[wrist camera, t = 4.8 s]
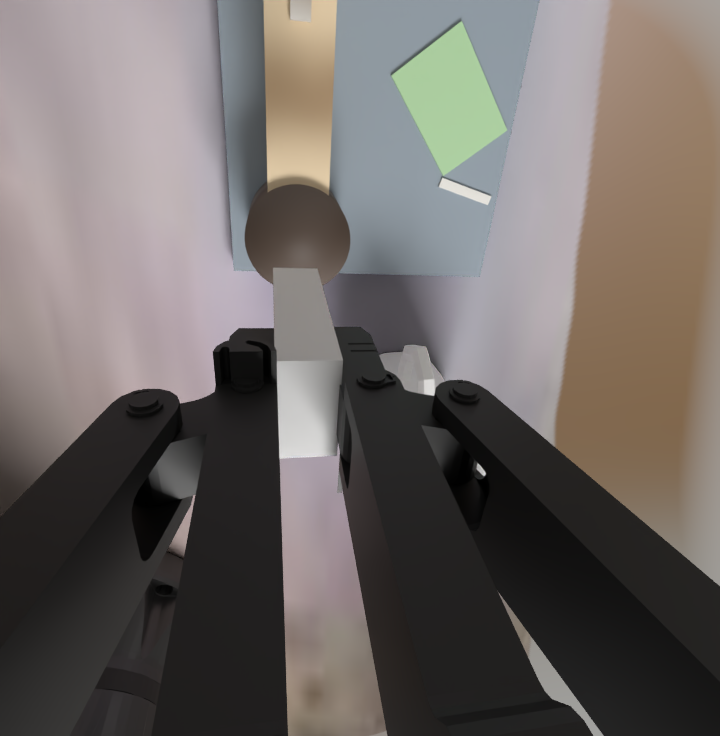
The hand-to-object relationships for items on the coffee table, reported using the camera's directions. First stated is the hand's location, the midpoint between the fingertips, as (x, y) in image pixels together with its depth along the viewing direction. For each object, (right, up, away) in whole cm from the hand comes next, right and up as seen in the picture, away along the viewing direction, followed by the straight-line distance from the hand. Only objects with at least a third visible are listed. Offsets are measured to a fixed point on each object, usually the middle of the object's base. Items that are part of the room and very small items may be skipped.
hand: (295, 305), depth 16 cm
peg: (-1, +10, +7) cm, 12 cm away
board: (+3, +11, +9) cm, 14 cm away
